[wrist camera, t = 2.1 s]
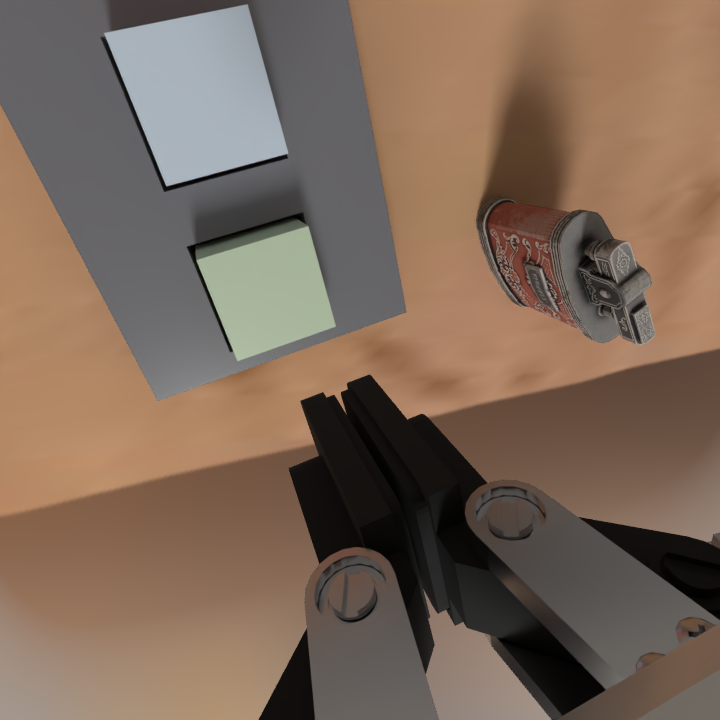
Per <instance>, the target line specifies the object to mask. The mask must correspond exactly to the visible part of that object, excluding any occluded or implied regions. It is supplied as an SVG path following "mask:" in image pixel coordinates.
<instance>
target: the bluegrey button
mask: <svg viewBox="0 0 720 720" xmlns="http://www.w3.org/2000/svg"><path fill="white" fill-rule="evenodd" d="M104 34H105V37H106V39H107V42H108V44H109V46H110V49H111V51H112V54H113V56H114V59H115V61H116V64H117V66H118V69H119V71H120V74H121V76H122V78H123V81H124V83H125V86H126V88H127V91H128V93H129V96H130V98H131V101H132V103H133V106H134V108H135V110H136V113H137V115H138V118H139V120H140V123H141V125H142V128H143V130H144V133H145V135H146V137H147V140H148V142H149V145H150V147H151V150H152V152H153V155H154V157H155V160H156V162H157V165H158V167H159V169H160V172H161V174H162V177H163V179H164V182H165V184H166V186H170V185H173V184H177V183H181V182H184V181H188V180H192V179H196V178H199V177H203V176H207V175H210V174H214V173H218V172H222V171H225V170H229V169H233V168H236V167H240V166H244V165H248V164H251V163H255V162H259V161H262V160H266V159H270V158H274V157H277V156H281V155H285V154H288V150H287V146H286V143H285V139H284V135H283V132H282V128H281V124H280V121H279V117H278V114H277V110H276V106H275V103H274V99H273V95H272V92H271V88H270V84H269V81H268V77H267V73H266V70H265V66H264V62H263V59H262V55H261V52H260V48H259V44H258V41H257V37H256V33H255V30H254V26H253V22H252V19H251V15H250V11H249V8H248V4H247V5H242V6H237V7H232V8H227V9H222V10H217V11H212V12H207V13H202V14H197V15H192V16H187V17H182V18H177V19H172V20H167V21H162V22H157V23H152V24H147V25H142V26H137V27H132V28H127V29H122V30H117V31H112V32H107V33H104Z"/></svg>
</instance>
